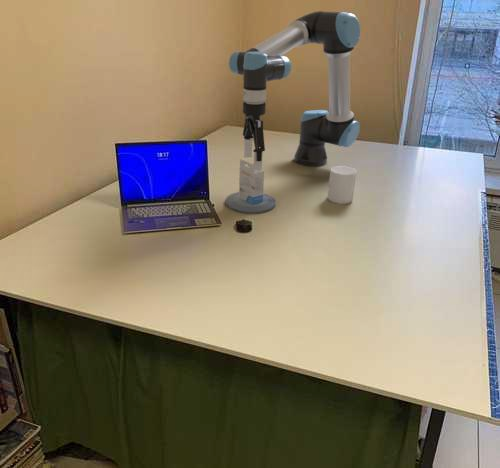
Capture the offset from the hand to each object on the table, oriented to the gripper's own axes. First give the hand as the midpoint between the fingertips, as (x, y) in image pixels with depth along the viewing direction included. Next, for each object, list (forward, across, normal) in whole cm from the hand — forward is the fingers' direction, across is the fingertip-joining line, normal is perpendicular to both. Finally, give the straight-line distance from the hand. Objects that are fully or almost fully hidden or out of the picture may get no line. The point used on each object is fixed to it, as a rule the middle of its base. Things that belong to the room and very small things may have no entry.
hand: (252, 163), depth 170 cm
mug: (+16, +1, +34) cm, 37 cm away
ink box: (+14, 0, 0) cm, 14 cm away
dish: (+15, 0, 0) cm, 15 cm away
